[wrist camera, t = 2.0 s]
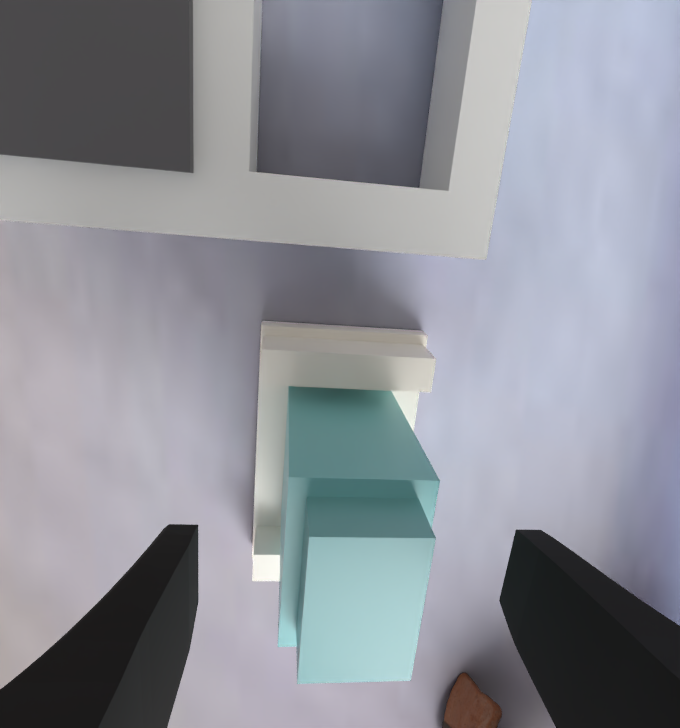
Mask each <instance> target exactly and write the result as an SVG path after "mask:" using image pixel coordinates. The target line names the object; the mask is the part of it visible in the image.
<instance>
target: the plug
mask: <svg viewBox="0 0 680 728" xmlns="http://www.w3.org/2000/svg"><path fill="white" fill-rule="evenodd" d="M439 483H440V480H439V478H438V477H437V475H436V473H435V471H434V469H433V467H432V465H431V464H430V462H429V460H428V458H427V456H426V454H425V452H424V451H423V449H422V447H421V445H420V443H419V441H418V439H417V438H416V436H415V434H414V432H413V430H412V428H411V427H410V425H409V423H408V421H407V419H406V417H405V415H404V414H403V412H402V410H401V408H400V406H399V404H398V402H397V401H396V399H395V397H394V395H393V393H392V391H380V390H359V389H337V388H316V387H294V386H289V387H288V404H287V421H286V438H285V455H284V472H283V489H282V506H281V538H280V580H279V622H278V647H292V646H297V684H309V683H345V682H382V681H411V677H412V671H413V665H414V660H415V654H416V648H417V642H418V637H419V631H420V625H421V620H422V614H423V608H424V603H425V597H426V591H427V586H428V580H429V574H430V568H431V563H432V557H433V551H434V546H435V540H436V537H435V535H434V533H433V531H432V523H433V518H434V512H435V506H436V500H437V494H438V488H439Z"/></svg>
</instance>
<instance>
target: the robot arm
mask: <svg viewBox="0 0 680 728" xmlns="http://www.w3.org/2000/svg"><path fill="white" fill-rule="evenodd" d="M499 601H500V604H501V607H502V610H503V613H504V616H505V619H506V622H507V624H508V627H509V630H510V633H511V635H512V638H513V641H514V643H515V646H516V648H517V650H518V652H519V654H520V656H521V658H522V660H523V662H524V664H525V666H526V668H527V671H528V673H529V675H530V677H531V679H532V681H533V683H534V685H535V687H536V689H537V691H538V693H539V695H540V697H541V699H542V701H543V703H544V705H545V707H546V708H547V710H548V712H549V714H550V716H551V718H552V720H553V722H554V724H555V726H556V728H680V626H679V625H678V624H676V623H675V622H673V621H671V620H670V619H668V618H667V617H665V616H664V615H662V614H661V613H659V612H658V611H656V610H655V609H653V608H652V607H650V606H649V605H647V604H646V603H644V602H643V601H641V600H640V599H638V598H637V597H636V596H634V595H633V594H631V593H630V592H628V591H627V590H626V589H624V588H623V587H621V586H620V585H618V584H617V583H616V582H614V581H613V580H611V579H610V578H609V577H607V576H606V575H604V574H603V573H602V572H600V571H599V570H598V569H596V568H595V567H593V566H592V565H591V564H589V563H588V562H587V561H585V560H584V559H582V558H581V557H580V556H578V555H577V554H575V553H574V552H573V551H571V550H570V549H568V548H567V547H566V546H564V545H563V544H561V543H560V542H558V541H557V540H556V539H554V538H553V537H551V536H550V535H548V534H546V533H545V532H543V531H542V530H516V532H515V536H514V540H513V545H512V549H511V553H510V557H509V562H508V566H507V570H506V574H505V579H504V583H503V587H502V591H501V596H500V600H499ZM197 605H198V525H175V524H169V525H168V526H167V527H165V528H164V529H163V530H162V532H161V533H160V534H159V535H158V536H157V538H156V539H155V540H154V541H153V542H152V544H151V545H150V546H149V547H148V548H147V550H146V551H145V552H144V553H143V554H142V555H141V557H140V558H139V559H138V560H137V561H136V562H135V563H134V565H133V566H132V567H131V568H130V569H129V570H128V571H127V572H126V573H125V575H124V576H123V577H122V578H121V579H120V580H119V581H118V582H117V583H116V584H115V585H114V586H113V587H112V589H111V590H110V591H109V592H108V593H107V594H106V595H105V596H104V597H103V598H102V599H101V600H100V601H99V602H98V603H97V604H96V605H95V606H94V607H93V608H92V609H91V610H90V611H89V612H88V613H87V614H86V615H85V616H84V617H83V618H82V619H81V620H80V621H79V622H78V623H77V624H76V625H75V626H74V627H72V628H71V629H70V630H69V631H68V632H67V633H66V634H65V635H64V636H63V637H62V638H61V639H60V640H59V641H57V642H56V643H55V644H54V645H53V646H52V647H51V648H50V649H49V650H47V651H46V652H45V653H44V654H43V655H42V656H41V657H39V658H38V659H37V660H36V661H35V662H33V663H32V664H31V665H30V666H29V667H28V668H26V669H25V670H24V671H23V672H22V673H20V674H19V675H18V676H17V677H16V678H14V679H13V680H12V681H11V682H9V683H8V684H7V685H6V686H4V687H3V688H2V689H0V728H167V726H168V722H169V719H170V715H171V712H172V708H173V705H174V702H175V698H176V695H177V691H178V688H179V684H180V681H181V678H182V674H183V671H184V667H185V664H186V660H187V657H188V653H189V649H190V644H191V639H192V633H193V628H194V622H195V617H196V611H197Z"/></svg>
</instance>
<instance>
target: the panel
mask: <svg viewBox="0 0 680 728" xmlns="http://www.w3.org/2000/svg"><path fill="white" fill-rule="evenodd" d="M262 3H263V0H0V220H1V221H14V222H26V223H38V224H50V225H63V226H75V227H87V228H99V229H112V230H124V231H136V232H149V233H161V234H173V235H185V236H198V237H210V238H222V239H234V240H247V241H259V242H271V243H284V244H296V245H308V246H320V247H333V248H345V249H357V250H369V251H382V252H394V253H406V254H419V255H431V256H443V257H455V258H468V259H480V260H486V258H487V252H488V246H489V241H490V235H491V229H492V224H493V218H494V212H495V207H496V201H497V195H498V190H499V184H500V178H501V173H502V167H503V161H504V156H505V150H506V144H507V139H508V133H509V127H510V122H511V116H512V110H513V105H514V99H515V93H516V88H517V82H518V76H519V71H520V65H521V60H522V54H523V48H524V43H525V37H526V31H527V26H528V20H529V14H530V9H531V3H532V0H443V8H442V16H441V23H440V31H439V39H438V46H437V54H436V62H435V70H434V77H433V85H432V93H431V100H430V108H429V116H428V124H427V131H426V139H425V147H424V155H423V162H422V170H421V178H420V185H419V188H413V187H403V186H393V185H382V184H372V183H362V182H352V181H342V180H332V179H321V178H311V177H301V176H291V175H281V174H271V173H260V172H257V154H258V124H259V93H260V63H261V33H262Z"/></svg>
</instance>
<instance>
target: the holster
mask: <svg viewBox="0 0 680 728" xmlns="http://www.w3.org/2000/svg"><path fill="white" fill-rule="evenodd" d="M427 337H428V335H427V334H426V333H425V332H424V331H421V330H405V329H389V328H373V327H357V326H341V325H324V324H308V323H292V322H276V321H262V323H261V338H260V364H259V389H258V415H257V441H256V466H255V492H254V517H253V543H252V558H253V576H252V581H279V580H280V538H281V506H282V489H283V472H284V455H285V438H286V421H287V404H288V387H289V386H294V387H316V388H337V389H359V390H380V391H392V393H393V395H394V397H395V399H396V401H397V402H398V404H399V406H400V408H401V410H402V412H403V414H404V415H405V417H406V419H407V421H408V423H409V425H410V427H411V428H412V430H413V432H414V425H415V418H416V411H417V405H418V398H419V392H431V389H432V383H433V376H434V370H435V363H436V358H435V357H434V356H433V355H432V354H431V353H430V352H429V351H428V350H427V349H426V344H427Z"/></svg>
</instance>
